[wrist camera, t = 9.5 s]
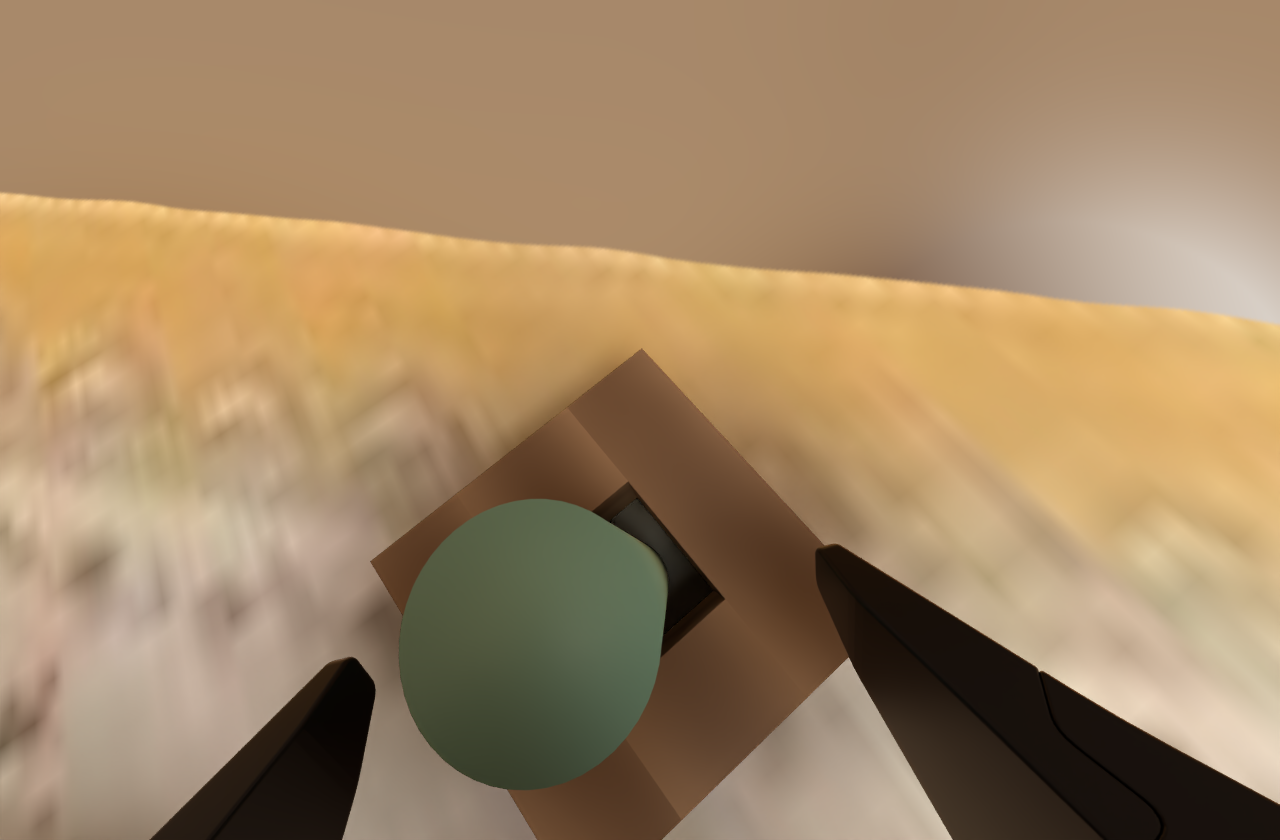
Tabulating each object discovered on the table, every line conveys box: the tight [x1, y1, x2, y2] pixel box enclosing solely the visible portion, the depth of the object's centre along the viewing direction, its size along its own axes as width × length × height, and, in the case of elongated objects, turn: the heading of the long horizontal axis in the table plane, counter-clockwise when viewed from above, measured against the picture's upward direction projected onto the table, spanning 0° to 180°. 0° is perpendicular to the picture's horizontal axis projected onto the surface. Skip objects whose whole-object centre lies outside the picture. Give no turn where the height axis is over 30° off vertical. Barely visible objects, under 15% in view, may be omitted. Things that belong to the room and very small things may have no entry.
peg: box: [399, 499, 669, 790], centre depth 11 cm, size 3×3×13 cm
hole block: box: [370, 349, 849, 840], centre depth 16 cm, size 11×11×4 cm
